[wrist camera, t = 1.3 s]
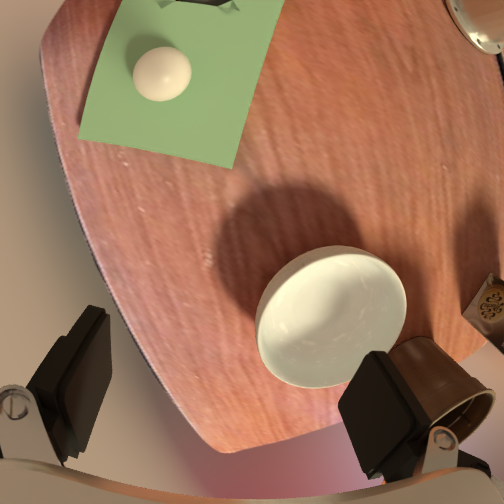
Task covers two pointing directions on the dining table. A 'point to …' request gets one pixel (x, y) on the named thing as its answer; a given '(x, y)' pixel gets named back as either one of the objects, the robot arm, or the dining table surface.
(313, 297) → the cereal bowl
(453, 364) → the plant pot
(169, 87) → the ball
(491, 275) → the coffee box
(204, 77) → the putting board
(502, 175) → the dining table surface
